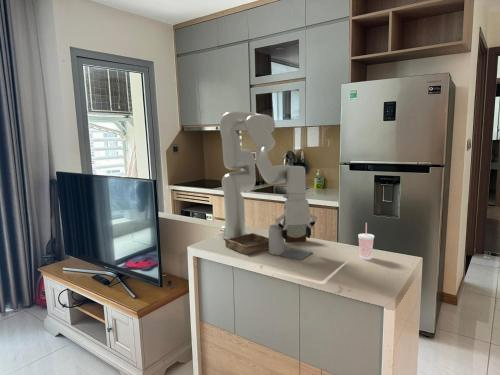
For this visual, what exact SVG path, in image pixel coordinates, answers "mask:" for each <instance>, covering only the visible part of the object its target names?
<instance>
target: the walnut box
mask: <svg viewBox="0 0 500 375" xmlns="http://www.w3.org/2000/svg"><path fill="white" fill-rule="evenodd" d="M224 240H225V241H224V242H225V243H224V244H225V247H226V248H227V249H230V250H233V251H235V252H238V253H241V254H243V255H245V256H248V255H252V254H256V253H259V252H263V251H266V250H269V237H267V236H264V235H261V234H257V233H254V232H252V233H247V234H246V235H242V236H237V237H233V238H228V239H224ZM253 241H254V242H256V243H254V244H250V245H245V244H243V243H248V242H253Z"/></svg>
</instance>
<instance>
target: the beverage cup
mask: <svg viewBox="0 0 500 375" xmlns="http://www.w3.org/2000/svg"><path fill="white" fill-rule="evenodd" d="M357 236H358V250H359V254H358V255H359V259H362V260H371V259H373V249H374V248H373V247H374V239H375V235H374V234H372V233H368V222H365V233H359V234H357Z"/></svg>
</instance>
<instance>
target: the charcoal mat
mask: <svg viewBox="0 0 500 375" xmlns="http://www.w3.org/2000/svg"><path fill="white" fill-rule="evenodd" d="M311 255H313V251H307V250H302V249H297V248H289V249H288V250H287V251H284V253H282V254H280V255H279V256H280V257H284V258H288V259H294V260H300V261H302V260H304V259H306V258H308V257H309V256H311Z"/></svg>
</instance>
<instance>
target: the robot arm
mask: <svg viewBox="0 0 500 375" xmlns="http://www.w3.org/2000/svg"><path fill="white" fill-rule="evenodd" d="M275 128H276V122H275V120H274V118H273V117H272V116H270V115H268V114H262V113H258V112H254V111H253V112H251V111H238V110H237V111H236V110H234V111H227V112H225V113H224V114H223V115H222V116H221V117H220V121H219V132H220V137H221V142H222V158H223V159H222V160H223V165H224V167H225V169H228V170H240V171H235V172H234V171H233V172H229V173H226V174H224V176H222V179H221V187H222V192H223V200H224V223H225V224H224V225H225V226H221V228H220V229H219V231H220V232H223V234H222V236H221V237H222V239H224V240H225V239H228V238H233V237H237V236H242V235H246V234H248V232H246V219H245V218H246V216H245V212H246V210H245V209H246V208H245V199H244V197H243V195H242V193H241V192H244V191H245V192H246V191H249V190H253V189H254V187H255V186H256V179H257V178H256V175H257V174H256V167H257V170H258V172H259V173H260V175H261V177H262V179H263V180H264V182H265V183H267V184H269V185H278V184H286V193H284V194H283V195H282V196H283V198H284V199H286V200H285V201H284V206H283V207H284V208H283V214H282V215H280V216H279V217H277V218H275V222H276V225H278V226H279V227H280V228H282V237H283V238H284V241H285V240H287V230H286V228H287V227H288V226H297V225H307V227H306V238H308V239H311V236H312V228H313V226H314V225H315V224H316V221H317V220H318V217H317V216H316V215H314V214H312V213H310V204H309V200H308V199H307V197H306V195H307V194H306V189H307V188H306V183H307V182H306V168H305V167H304V166H301V165H290V164H282V165H281V164H278V165H273V164H272V161H271V160H270V157H269V151H271V150H272V149H273V148H274V147H275V146H276V141H275V138H274V137H273V135H272V133H273V132H274V131H275ZM237 131H247V133H248V135H249V137H250V140H251V141H252V143H253V145H254V147H255V149H256V151H257V152H256V156H254V153H252V151H251V150H250V149H246V148H241V147H242V146H241V139H240V136H239V134H238V133H237ZM255 157H256V159H255ZM281 221H284V224H283V225H282V223H281Z"/></svg>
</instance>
